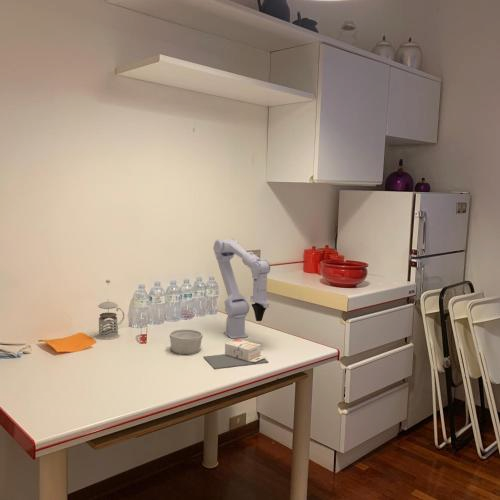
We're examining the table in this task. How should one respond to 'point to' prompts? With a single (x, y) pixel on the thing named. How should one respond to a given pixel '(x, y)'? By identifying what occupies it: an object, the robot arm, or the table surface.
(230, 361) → the mat
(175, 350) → the ramekin
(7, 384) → the table surface
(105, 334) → the french press
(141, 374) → the table surface
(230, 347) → the ink cartridge box
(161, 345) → the table surface
